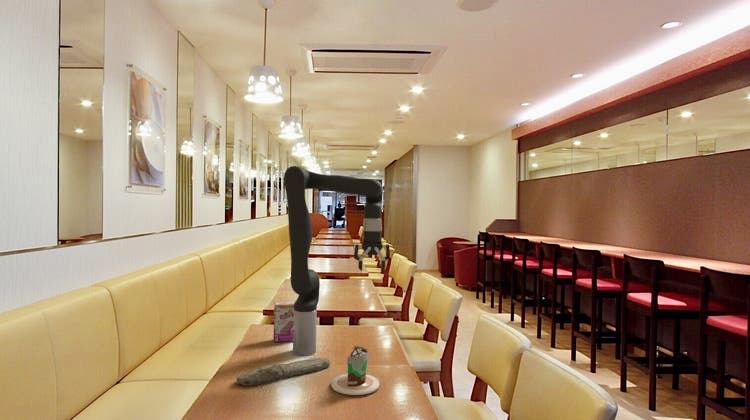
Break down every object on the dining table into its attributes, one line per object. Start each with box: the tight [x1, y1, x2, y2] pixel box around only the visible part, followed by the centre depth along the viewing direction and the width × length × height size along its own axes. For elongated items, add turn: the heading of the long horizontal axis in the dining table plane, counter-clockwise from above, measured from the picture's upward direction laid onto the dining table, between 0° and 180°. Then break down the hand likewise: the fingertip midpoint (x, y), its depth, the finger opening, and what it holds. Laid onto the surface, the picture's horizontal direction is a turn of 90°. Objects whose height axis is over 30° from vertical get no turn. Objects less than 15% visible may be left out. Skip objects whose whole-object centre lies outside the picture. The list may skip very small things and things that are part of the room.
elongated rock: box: [236, 357, 331, 387], centre depth 156 cm, size 35×5×10 cm
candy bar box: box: [272, 301, 295, 343], centre depth 195 cm, size 11×5×16 cm, turn 106°
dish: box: [330, 373, 380, 396], centre depth 147 cm, size 16×16×2 cm
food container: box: [346, 345, 370, 387], centre depth 147 cm, size 12×6×10 cm, turn 172°
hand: (371, 270), depth 178 cm, fingers open, 8 cm apart
